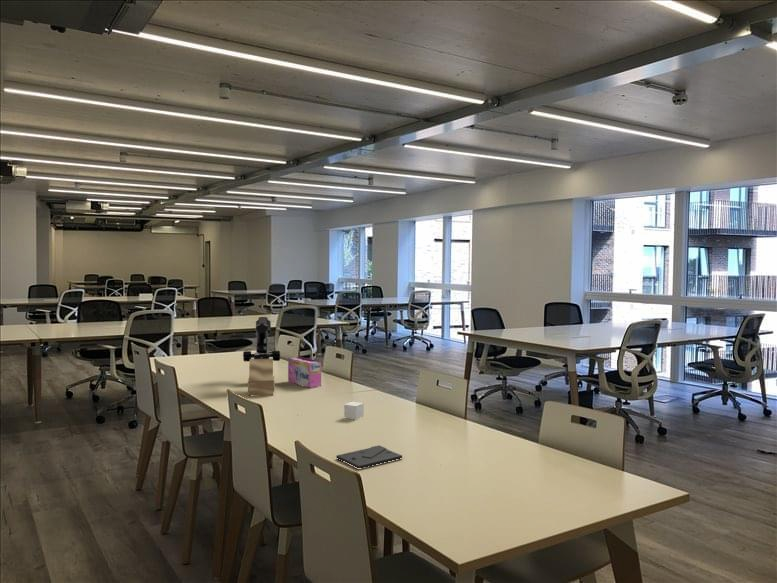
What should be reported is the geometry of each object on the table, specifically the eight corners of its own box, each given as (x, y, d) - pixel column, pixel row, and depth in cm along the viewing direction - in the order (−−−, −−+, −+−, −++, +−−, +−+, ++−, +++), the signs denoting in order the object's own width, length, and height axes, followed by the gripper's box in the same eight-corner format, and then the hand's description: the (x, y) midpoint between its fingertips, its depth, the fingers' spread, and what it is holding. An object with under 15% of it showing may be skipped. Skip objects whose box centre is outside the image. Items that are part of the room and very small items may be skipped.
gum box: (286, 381, 333) (286, 357, 332) (298, 379, 338) (298, 356, 337) (309, 388, 314) (309, 363, 314) (321, 386, 319) (321, 361, 319)
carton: (249, 391, 307) (249, 376, 306) (274, 390, 309) (274, 375, 309) (247, 396, 295) (247, 381, 294) (274, 395, 297) (274, 380, 297)
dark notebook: (378, 451, 210) (336, 460, 200) (378, 444, 210) (336, 454, 200) (402, 461, 200) (358, 471, 189) (402, 454, 200) (358, 465, 189)
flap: (249, 359, 300) (249, 359, 299) (272, 358, 302) (272, 358, 301) (249, 381, 294) (249, 380, 294) (272, 380, 296) (272, 380, 296)
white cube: (356, 420, 250) (356, 406, 250) (344, 418, 253) (344, 404, 253) (363, 416, 256) (363, 403, 255) (351, 415, 259) (351, 401, 258)
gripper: (279, 353, 321) (280, 377, 311) (244, 354, 318) (243, 378, 307) (280, 341, 313) (280, 365, 303) (243, 341, 310) (242, 366, 299)
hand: (261, 369), depth 303 cm, fingers closed
